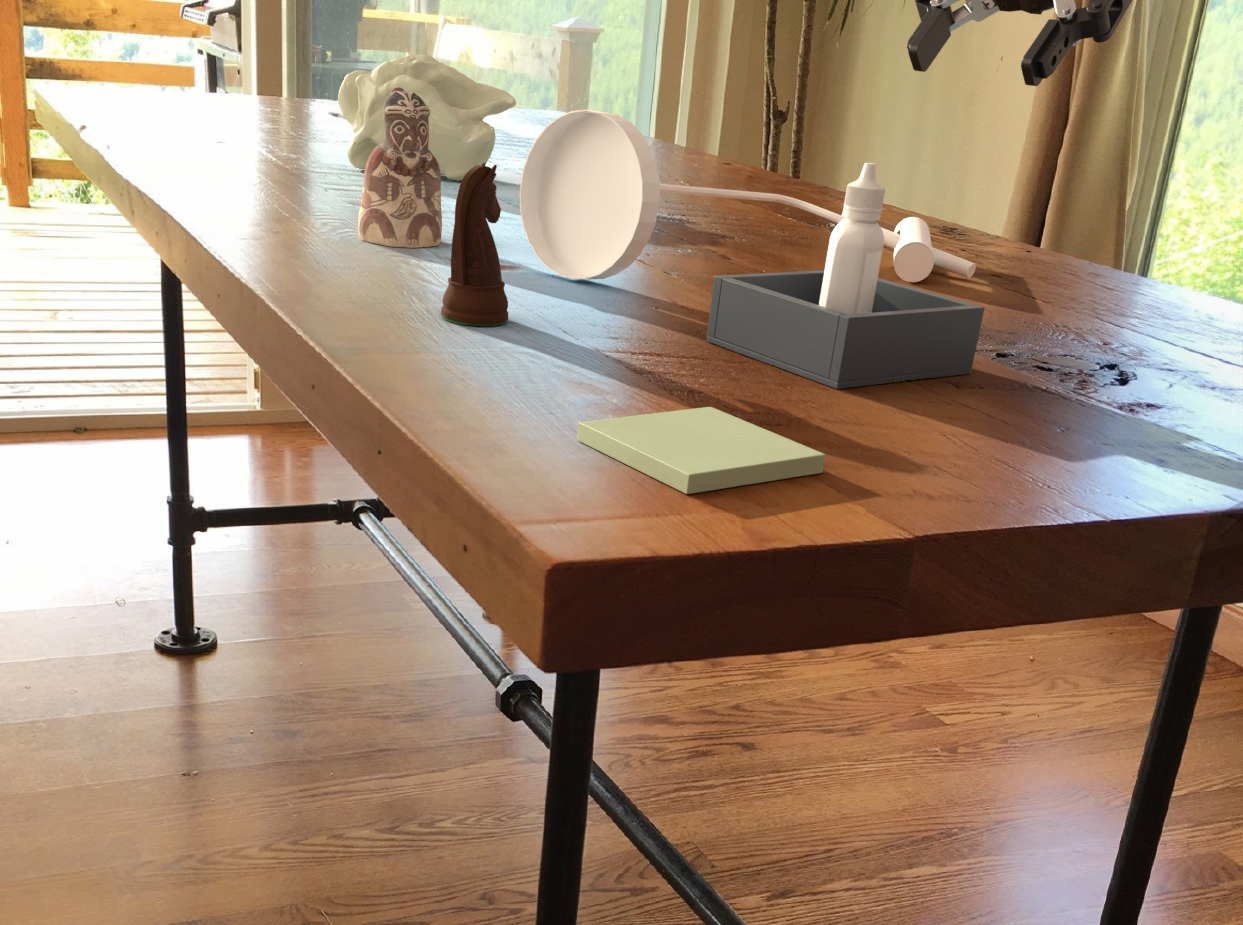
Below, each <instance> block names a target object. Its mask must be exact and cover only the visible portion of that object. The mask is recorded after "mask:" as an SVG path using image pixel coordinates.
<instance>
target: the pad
mask: <svg viewBox="0 0 1243 925" xmlns="http://www.w3.org/2000/svg"><path fill="white" fill-rule="evenodd" d="M576 435H577V436H576V441H578V442H580V443H582V444H583V445H585V446H587V447H590V448H592V449H593V450H596V451H598V452H600V453H602V454H604V455H606V456H608V457H610V458H613V459H614V460H616V461H618V462H620V463H622V464H625V465H626V466H628V467H630V468H632V469H635V470H636V471H639V472H640V473H642V474H644V475H647V476H648V477H651V478H653V479H654V480H657V481H659V482H661V483H663V484H665V485H667V486H669V487H671V488H673V489H675V490H677V491H679V492H681V493H683V494H685V495H692V494H698V493H705V492H710V491H717V490H723V489H731V488H735V487H742V486H749V485H753V484H754V485H755V484H761V483H767V482H773V481H779V480H781V481H782V480H787V479H793V478H798V477H805V476H812V475H818V474H823V472H824V467H825V462H826V461H825V460H826V454H825V453H823V452H821V451H818V450H816V449H813V448H811V447H809V446H806V445H804V444H801V443H799V442H796V441H794V440H792V439H790V438H787V437H785V436H782V435H780V434H778V433H775V432H773V431H770V430H768V429H766V428H763V427H760V426H758V425H756V424H753V423H751V422H748V421H746V420H745V419H741V418H739V417H736V416H734V415H732V414H729V413H728V412H724V411H722V410H720V409H717V408H715V407H712V406H704V407H696V408H688V409H677V410H670V411H661V412H660V411H659V412H654V413H645V414H634V415H627V416H618V417H611V418H610V417H609V418H602V419H593V420H584V421H578V426H577V434H576Z"/></svg>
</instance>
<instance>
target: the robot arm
mask: <svg viewBox="0 0 1243 925" xmlns="http://www.w3.org/2000/svg"><path fill="white" fill-rule="evenodd" d="M959 1H960V0H914V3H915V6H916V9H917V10H916V11H917V12H918V13H917V14H918V16H919V19H920V22H919V23H918V26H917V27H916V28H915V30H914V31H913V32H912V34H911V35H910V37H909V38H908V40H907V43H906V48H907V51H908V57H909V60H910V63H911V66H912V69H913V71H914V72H922V73H925V72H927V71H928V69H929V68H930V67H931V65H932V63H933V62H934V61H935V59H936V58H937V56H938V55H939V53H940V52H941V50H942V49H943V48H944V46H945V45H946V43H947V42H948V41H949V39H950V37H951V36H952V33H951V32H953V31H955V30H956V29H959V28H960V27H962V26H964V25H965V24H968V23H969V22H971V21H974V22H978V23H979V22H982V21H985V20H986V19H988V18H989V17H991V16H992V15H995V14H997V13H998V12H1007V13H1010V12H1011V13H1013V12H1019V11H1022V12H1024V13H1028V14H1031V15H1042V13H1043V12H1045V11H1049V10H1052V9H1053V10H1054V14H1055V17H1056V19H1054V18H1053V19H1051V18H1049V19H1048V20H1047V21H1046V23H1045V24H1044V26H1043V27H1042V28H1041V30H1040V32H1039V33H1038V35H1037V36H1036V37H1035V39H1034V40H1033V42H1032V43H1031V45H1030V46H1029V48H1027V51H1026V52H1025V54H1024V55H1023V57H1022V59H1021V62H1020V69H1021V72H1022V76H1023V81H1024V84H1025V85H1026V86H1030V87H1038V86H1040V84H1041V83H1042V80H1047V79H1048V78H1049V77H1051V76H1052V75H1053V74H1054V73H1055V71H1056V70H1057V68H1058V67H1059V66H1060V64H1061V62H1062V61H1063V60H1064V58H1065V56H1066V55H1067V53H1068V52H1069V50H1070V49H1071V48H1073V47H1075V46H1077V45H1079V44H1080V43H1081V42H1082V40H1084V39H1090V38H1092V41H1093V42H1095V43H1096V44H1097V43H1099V44H1101V43H1105V42H1107V41H1108V40H1110V39H1111V38H1112V36H1113V34H1114V33H1115V32H1116V29H1117V28H1118V26H1119V24H1120V22H1121V21H1122V19H1123V18H1124V16H1125V14H1126V12H1127V10H1128V9H1129V7H1130V6H1131V4H1132V2H1133V0H1090V1H1089V3H1088V5H1087V6H1085V7H1078V8H1077V5H1076V1H1075V0H965V2H964V4H963V5H962V6H960V7H959V8H957V9H955V10H953V9H952V5H954V4H956V3H957V2H959Z"/></svg>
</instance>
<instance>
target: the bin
mask: <svg viewBox="0 0 1243 925" xmlns="http://www.w3.org/2000/svg"><path fill="white" fill-rule="evenodd" d="M824 270H825V269H819V270H818V269H817V270H800V271H799V270H798V271H782V272H780V271H779V272H763V273H762V272H761V273H742V274H723V275H720V274H719V275H714V277H713V284H712V290H711V291H712V292H711V299H710V307H709V316H708V324H707V331H706V338H705V342H707V341H709V342H708V343H710V342H711V343H710V344H712V343H713V344H712V345H715V344H716V345H715V346H718V347H721V348H723V347H724V349H726V350H729V351H731V352H735V353H738V354H740V355H743V356H745V357H748V358H751V359H753V360H756V361H759V362H762V363H765V364H767V365H770V366H773V365H774V366H773V367H776V368H777V369H782V370H784V371H786V372H789V373H791V374H794V375H797V376H800V377H803V378H806V379H808V380H811V381H813V382H816V383H819V384H822V385H825V386H827V387H830V388H832V389H835V390H840V389H849V388H859V387H866V386H876V384H877V385H884V384H885V385H886V384H893V383H892V382H894V383H899V382H898V381H903V382H906V381H905V380H911V381H918V380H917V379H920V380H926V379H925V378H929V379H937V378H947V377H954V376H963V375H971V373H972V368H973V365H974V360H975V355H976V352H977V347H978V341H979V337H980V331H981V327H982V323H983V318H984V314H985V308H986V307H985V306H981V305H978V304H975V303H971V302H967V301H963V300H959V299H956V298H953V297H949V296H945V295H942V294H938V293H934V292H931V291H927V290H923V289H921V288H916V287H913V286H910V285H906V284H903V283H898V282H895V281H891V280H888V279H884V278H881V277H878V280H877V285H876V291H875V296H874V302H873V307H872V313H861V314H846V313H842V312H839V311H836V310H833V309H829V308H826V307H823V306H820V305H819V301H820V295H821V289H822V283H823V276H824ZM895 381H896V382H895Z"/></svg>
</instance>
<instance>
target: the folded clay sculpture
mask: <svg viewBox="0 0 1243 925" xmlns="http://www.w3.org/2000/svg"><path fill="white" fill-rule="evenodd" d="M396 87H400V88H402V89H403V90H404V91H410V92H414V93H415V94H416V95H418V96H419V97H420V98H421V99H422V100H423V101H424V103H425V104H426V106H427V107H428V108H429V109H430V115H429V141H428V150H430V152H431V153H432V154H433V156H434V157H435V158H436V160H437V162H438V164H439V168H440V175H441V176H444V177H446V178H447V179H449V180H453V181H462V179H463V178H464V176H465V174H466V173H467V172H468V171H469V170H470V169H471V168H473V167H475V166H477V165H482V164H483V163H485V166H487V165H486V164H488V161H489V159H490V157H491V155H492V153H493V150H494V148H495V143H496V139H497V138H496V130H495V127H494V126H491V125H490V124H489V123H488V122H486V121H484V119H485V118H486V117H488V116H493V115H498V114H501V113H503V112H506V111H508V110H509V109H510V110H511V109H512V108H514V107H516V105H517V101H516V99H515V97H514V96H513V95H512V94H511V93H509V92H508V91H506V90H505V89H501V88H499V87H495V86H491V85H488V84H486V83H485V84H484V83H481V82H476V81H475V80H474V79H472V78H471V77H469V76H467V75H465V74H464V73H463V72H460V71H459V70H458V69H456V68H455V67H453V66H449V65H447V64H445V63H444V62H440V61H438V60H437V59H436V58H435V57H433V56H431V55H428V54H425V53H422V54H410V55H406V56H400V57H395V58H394V59H392V60H385V61H384V62H382V63H381V64H380V65H378V66H377V67H374V68H373V69H372V70H371V71H369V70H364V69H361V70H360V69H356V70H353V71H352V72H350V73H348V74H346V75H345V76H344V79H343V81H342V83H341V85H340V87H339V90H338V95H337V103H338V105H339V107H340V108H339V109H340V110H341V113H342V117H343V119H344V120H346V121H347V122H348V123H349V124H350V125H351V126H352V129H351V132H352V135H351V136H350V138H349V141H348V144H347V148H346V154H347V158H348V161H349V163H350V164H351V165H352V166H353V167H354V169H356V168H359V169H365V167H366V163H367V160H368V158H369V156H370V154H371V153H372V151H373V150H374V149H375V147H376V146H378V145H379V144H381V143H383V142H384V121H383V106H384V103H385V101H386V99H387V98H388V96H389V95H390V94H391V93H392V89H394V88H396Z"/></svg>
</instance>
